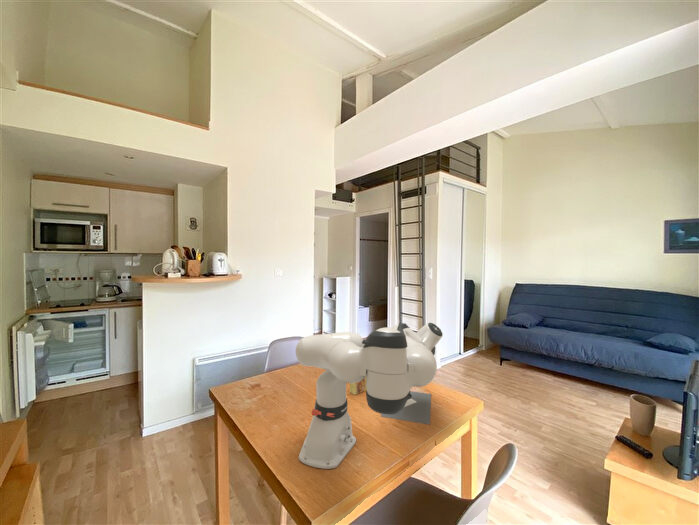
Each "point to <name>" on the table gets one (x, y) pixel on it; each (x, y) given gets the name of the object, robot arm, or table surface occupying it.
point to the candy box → (358, 386)
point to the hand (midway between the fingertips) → (400, 364)
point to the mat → (414, 409)
